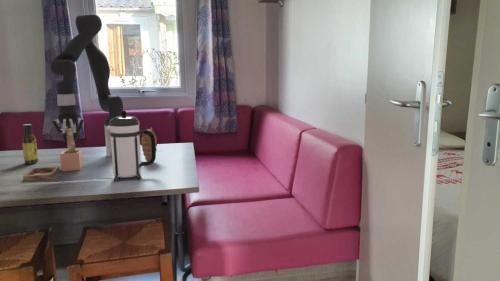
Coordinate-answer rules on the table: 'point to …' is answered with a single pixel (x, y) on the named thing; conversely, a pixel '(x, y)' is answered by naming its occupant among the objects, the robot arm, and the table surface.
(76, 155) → the pink open box
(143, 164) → the coffee press
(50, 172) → the tray
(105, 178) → the table surface
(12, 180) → the table surface
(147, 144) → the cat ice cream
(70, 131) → the dowel
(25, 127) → the sauce bottle
